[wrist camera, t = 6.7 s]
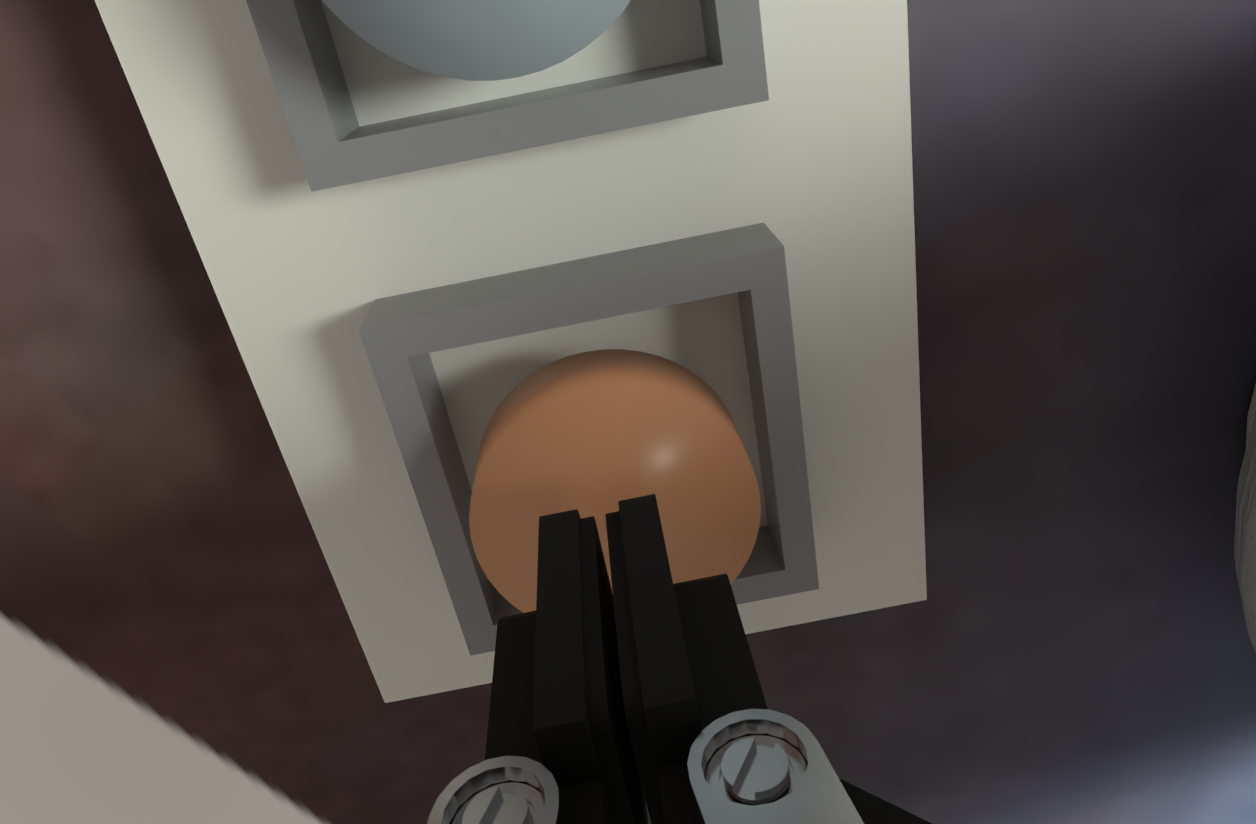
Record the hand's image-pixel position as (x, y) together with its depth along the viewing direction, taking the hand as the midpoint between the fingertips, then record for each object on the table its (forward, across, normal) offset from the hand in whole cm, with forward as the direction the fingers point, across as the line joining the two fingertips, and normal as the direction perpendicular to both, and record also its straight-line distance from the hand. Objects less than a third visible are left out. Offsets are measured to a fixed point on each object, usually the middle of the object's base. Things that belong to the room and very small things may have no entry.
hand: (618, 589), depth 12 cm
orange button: (+3, 0, 0) cm, 3 cm away
